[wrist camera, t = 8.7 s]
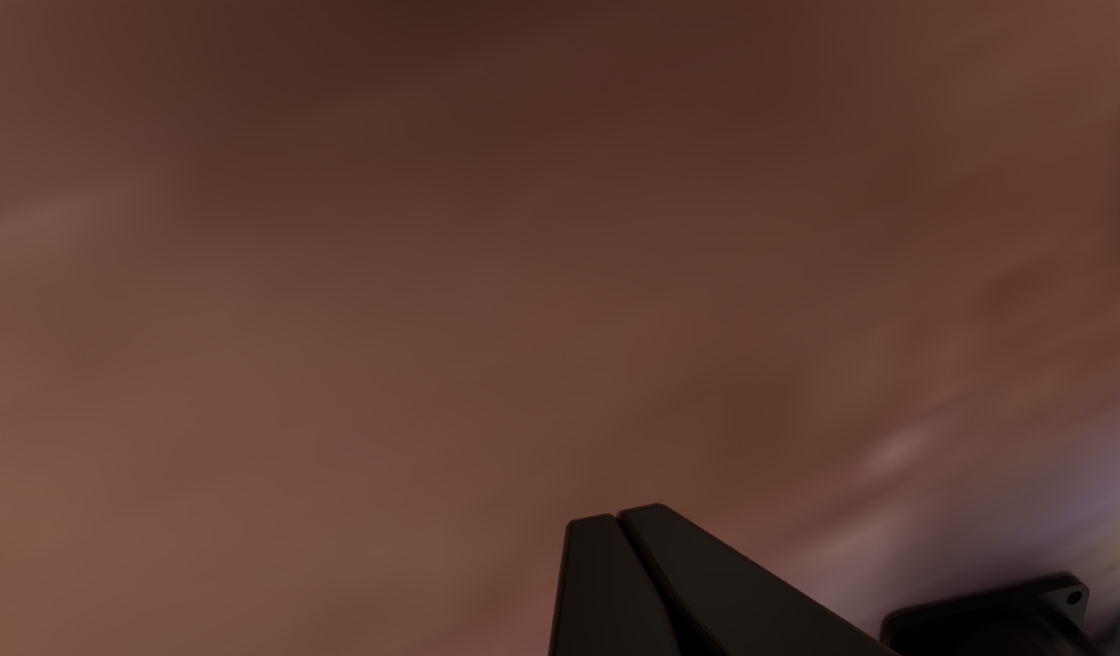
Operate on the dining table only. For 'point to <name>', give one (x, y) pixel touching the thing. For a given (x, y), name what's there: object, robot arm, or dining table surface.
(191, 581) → the dining table surface
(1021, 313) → the dining table surface
